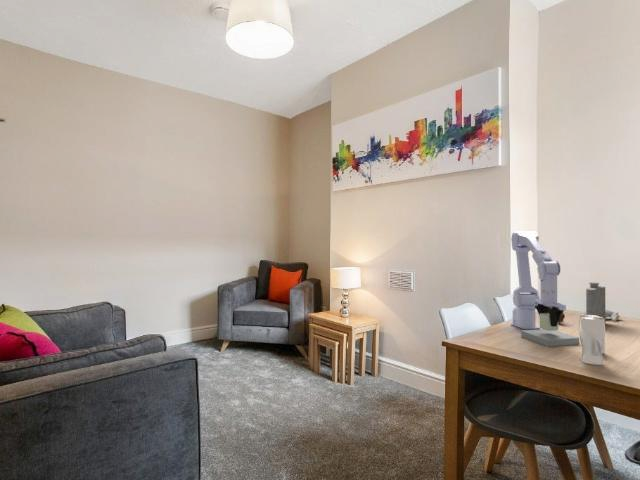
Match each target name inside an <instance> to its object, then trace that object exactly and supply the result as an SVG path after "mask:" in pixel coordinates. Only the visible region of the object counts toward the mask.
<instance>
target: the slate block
mask: <svg viewBox="0 0 640 480" xmlns="http://www.w3.org/2000/svg"><path fill="white" fill-rule="evenodd" d="M520 334H521V335H520V336H522V337H521V338H525V339H526V338H527V339H526V340H529V341H532V342H534V343H537V344H539V345H542V346H545V347H558V346H574V345H575V346H577V345H580V337H578V336H575V335H571V334H568V333H565V332H562V331H559V330H554V331H547V330H544V329H541V328H540V329H523V330H521V331H520Z"/></svg>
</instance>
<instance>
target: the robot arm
mask: <svg viewBox="0 0 640 480" xmlns="http://www.w3.org/2000/svg"><path fill="white" fill-rule="evenodd" d="M510 239H511V241H510V242H511V248H512V250H513V251H515V256H516V264H517V266H516V267H517V273H518V283H519V286H518V287H517V288H516V289H514V290H513V296H512V302H513V305H514V306H515V307H514V308H513V310H512V322H511V323H510V325H511V326H513V327H514V326H515V327H517V328H520V329H523V330H539V329H541V328H540V326H537V325H536V324H537V323H536V322H537V321H536V318H537V317H536V311H537V313H538V315H539V317H540V313H548V312H549V315H550V323H551V326H552V327H555V326H557V324H558V325H559V323H558V320H559V318H560V316H561V314H562V313H564V311H566V310H567V305H566V304H562V303H561V302H558V276H559V275H560V273H561V265H560V262H559V261H558V260H554V259H552V257H551V256H550V254H549V253H548V252H547V250H545V249H542V247H541V245H540V243H539V240H540V239H539V234H538V232H537V231H536V230H533V231H514V232H513V233H512V234H511V238H510ZM529 252H531V253H532V255H531V257H532V259H533V260H534V263H535V264H536V265H537V268H536V269H537V273H538V278H539V280H540V296H539V291H538V290H537V289H536V288H534V287H533V285H532V277H531V267H530V259H529ZM550 307H551V308H550Z"/></svg>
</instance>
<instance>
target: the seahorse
mask: <svg viewBox="0 0 640 480" xmlns="http://www.w3.org/2000/svg"><path fill="white" fill-rule="evenodd" d="M581 315H586V312H585V313H582V314H581ZM607 318H610V319H611V320H612V322H613V321H616V322H617V320H619V319H620V318H621V316H620V315H619V312H614V311H611V310H609V309H605V319H607Z"/></svg>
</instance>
